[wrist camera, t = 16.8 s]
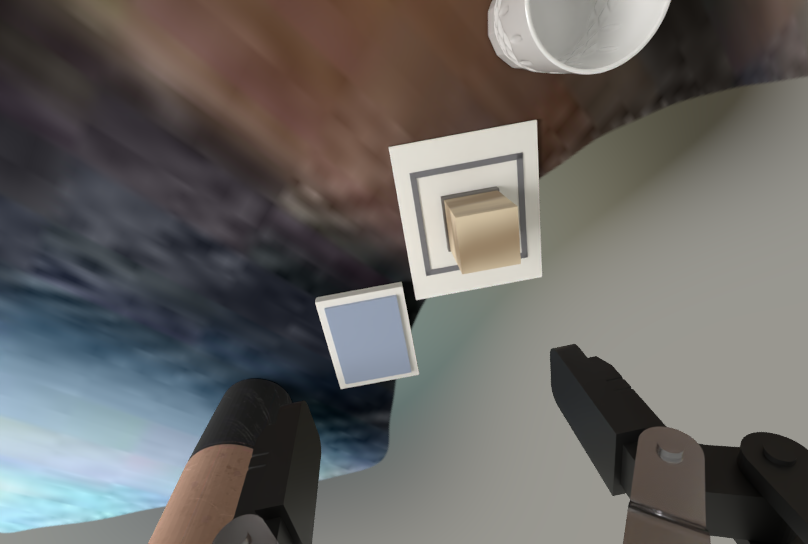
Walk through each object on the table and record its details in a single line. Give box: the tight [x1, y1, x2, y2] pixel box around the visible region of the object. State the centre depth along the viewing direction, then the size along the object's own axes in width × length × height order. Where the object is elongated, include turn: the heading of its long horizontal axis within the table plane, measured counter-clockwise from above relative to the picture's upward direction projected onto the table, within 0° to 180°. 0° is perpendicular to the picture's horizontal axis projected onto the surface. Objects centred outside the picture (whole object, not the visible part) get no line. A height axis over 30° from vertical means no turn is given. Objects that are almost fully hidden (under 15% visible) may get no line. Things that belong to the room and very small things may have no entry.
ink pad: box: [315, 282, 419, 389], centre depth 39 cm, size 10×8×1 cm
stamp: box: [441, 186, 521, 274], centre depth 33 cm, size 5×5×6 cm
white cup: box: [488, 0, 671, 74], centre depth 26 cm, size 8×8×10 cm
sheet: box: [389, 120, 542, 300], centre depth 36 cm, size 14×12×1 cm
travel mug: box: [148, 379, 292, 544], centre depth 33 cm, size 8×8×20 cm
